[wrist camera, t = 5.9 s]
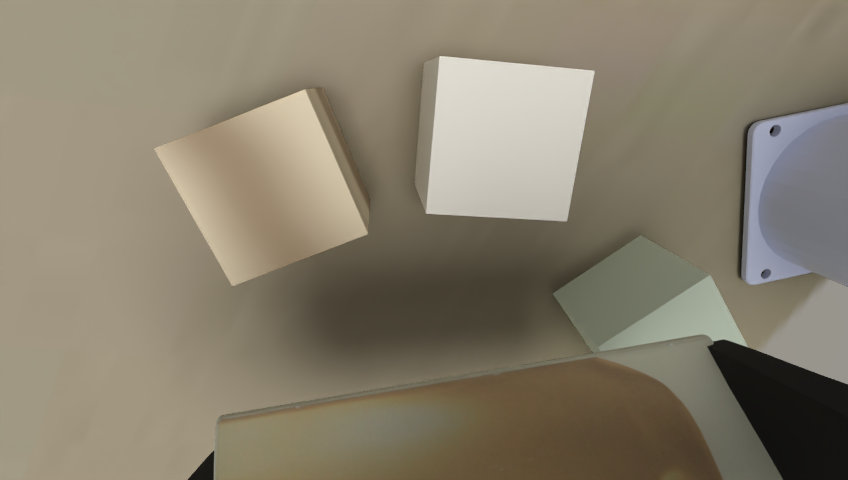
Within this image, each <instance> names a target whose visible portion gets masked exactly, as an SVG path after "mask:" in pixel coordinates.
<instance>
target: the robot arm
mask: <svg viewBox="0 0 848 480" xmlns="http://www.w3.org/2000/svg"><path fill="white" fill-rule="evenodd" d="M772 126H773V127H774V130H773V132H772V134H771V135H770V129H771V128H772ZM763 270H765V271H764V273H763V274H762V275H761V273H762V271H763ZM812 272H814V273H817V274H819V275H821V276H824V277H826V278H828V279H830V280H833V281H835V282H838V283H840V284H842V285H844V286H847V287H848V103H844V104H840V105H835V106H830V107H825V108H820V109H815V110H810V111H805V112H800V113H796V114H791V115H786V116H781V117H776V118H771V119H766V120H761V121H758V122H755V123H754V124H753V125H752V126H751V127H750V129H749V131H748V139H747V161H746V183H745V205H744V226H743V248H742V270H741V277H742V280H743V281H744V282H746V283H748V284H750V285H756V284H761V283H765V282H770V281H775V280H779V279H784V278H789V277H793V276H798V275H802V274H807V273H812ZM713 343H714V344H713V345H710V346H707V347H708V349H709V351H710V353H711V355H712V357H713V358H714V360H715V362H716V364H717V366H718V368H719V369H720V371H721V373H722V375H723V377H724V379H725V381H726V383H727V384H728V386H729V388H730V390H731V391H732V393H733V395H734V396H735V398H736V400H737V401H738V403H739V405H740V406H741V408H742V410H743V412H744V413H745V415H746V417H747V418H748V420H749V422H750V423H751V425H752V427H753V429H754V430H755V432H756V434H757V435H758V437H759V439H760V440H761V442H762V444H763V446H764V447H765V449H766V451H767V452H768V454H769V456H770V458H771V459H772V461H773V463H774V465H775V466H776V468H777V470H778V471H779V473H780V475H781V477H782V478H783V480H848V384H845V383H842V382H839V381H836V380H834V379H831V378H828V377H825V376H822V375H819V374H817V373H814V372H811V371H809V370H806V369H804V368H801V367H798V366H796V365H793V364H790V363H788V362H785V361H783V360H780V359H777V358H774V357H772V356H769V355H767V354H764V353H762V352H759V351H756V350H754V349H751V348H748V347H746V346H743V345H740V344H737V343H734V342H731V341H728V340H725V339H723V340H718V341H713ZM188 480H214V451H213V452H212V453H211V454H210V455H209V456H208V457H207V458H206V459H205V461H204V462H203V463H202V464H201V465H200V466H199V467H198V468H197V470H196V471H195V472H194V473H193V474H192V475H191V477H190V478H189V479H188Z"/></svg>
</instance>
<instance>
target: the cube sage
mask: <svg viewBox="0 0 848 480" xmlns="http://www.w3.org/2000/svg"><path fill="white" fill-rule="evenodd" d="M553 295H554V297H555V298H556V300H557V301H558V302H559V304H560V305H561V307H562V308H563V310H564V311H565V313H566V314H567V316H568V317H569V319H570V320H571V322H572V323H573V325H574V326H575V328H576V329H577V331H578V332H579V333H580V335H581V336H582V338H583V339H584V341H585V342H586V344H587V345H588V347H589V348H590V350H591V351H592V353H595V352H601V351H607V350H613V349H619V348H625V347H631V346H636V345H642V344H648V343H654V342H659V341H665V340H671V339H677V338H683V337H688V336H695V335H701V334H704V335H707V336H709V337H710V338H711V339H712V341H718V340H723V339H725V340H728V341H731V342H734V343H737V344H740V345H743V346H746V347H748V346H747V344H746V342H745V340H744V339H743V337H742V335H741V333H740V331H739V329H738V327H737V325H736V323H735V321H734V319H733V317H732V316H731V314H730V312H729V310H728V308H727V306H726V304H725V302H724V300H723V298H722V296H721V294H720V293H719V291H718V289H717V287H716V285H715V283H714V281H713V279H712V277H711V275H710V274H708V273H706V272H705V271H703V270H701V269H699V268H698V267H696V266H694V265H692V264H691V263H689V262H687V261H685V260H684V259H682V258H680V257H678V256H677V255H675V254H673V253H671V252H670V251H668V250H666V249H664V248H663V247H661V246H659V245H657V244H656V243H654V242H652V241H650V240H649V239H647V238H645V237H643V236H642V235H640V236H638V237H637V238H635V239H634V240H632V241H631V242H629V243H628V244H626V245H625V246H623V247H622V248H620V249H619V250H617V251H616V252H614V253H613V254H611V255H610V256H608V257H607V258H605V259H604V260H602V261H601V262H599V263H598V264H596V265H595V266H593V267H592V268H590V269H589V270H587V271H586V272H584V273H583V274H581V275H580V276H578V277H577V278H575V279H574V280H572V281H571V282H569V283H568V284H566V285H565V286H563V287H562V288H560V289H559V290H557V291H556V292H554V293H553Z"/></svg>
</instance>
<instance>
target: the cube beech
mask: <svg viewBox="0 0 848 480" xmlns="http://www.w3.org/2000/svg"><path fill="white" fill-rule="evenodd" d="M155 151H156V153H157V155H158V156H159V158H160V160H161V162H162V163H163V165H164V167H165V169H166V171H167V172H168V174H169V176H170V178H171V179H172V181H173V183H174V185H175V186H176V188H177V190H178V192H179V193H180V195H181V197H182V199H183V200H184V202H185V204H186V206H187V207H188V209H189V211H190V213H191V214H192V216H193V218H194V220H195V221H196V223H197V225H198V227H199V228H200V230H201V232H202V234H203V236H204V237H205V239H206V241H207V243H208V244H209V246H210V248H211V250H212V251H213V253H214V255H215V257H216V258H217V260H218V262H219V264H220V265H221V267H222V269H223V271H224V272H225V274H226V276H227V278H228V279H229V281H230V283H231V285H232V286H235V285H237V284H240V283H242V282H245V281H248V280H250V279H253V278H255V277H258V276H261V275H263V274H266V273H268V272H271V271H274V270H276V269H279V268H281V267H284V266H287V265H289V264H292V263H294V262H297V261H300V260H302V259H305V258H307V257H310V256H313V255H315V254H318V253H320V252H323V251H326V250H328V249H331V248H333V247H336V246H339V245H341V244H344V243H346V242H349V241H352V240H354V239H357V238H359V237H362V236H365V235H367V234H368V229H369V211H370V198H369V196H368V193H367V191H366V189H365V186H364V184H363V182H362V179H361V177H360V175H359V172H358V170H357V167H356V165H355V163H354V160H353V158H352V156H351V153H350V151H349V149H348V146H347V144H346V141H345V139H344V137H343V134H342V132H341V130H340V127H339V125H338V123H337V120H336V118H335V115H334V113H333V111H332V108H331V106H330V104H329V101H328V99H327V97H326V94H325V92H324V89H323V87H322V88H312V89H304V90H302V91H299V92H297V93H294V94H292V95H289V96H287V97H284V98H281V99H279V100H276V101H274V102H271V103H269V104H266V105H264V106H261V107H259V108H256V109H254V110H251V111H249V112H246V113H243V114H241V115H238V116H236V117H233V118H231V119H228V120H226V121H223V122H221V123H218V124H216V125H213V126H211V127H208V128H206V129H203V130H200V131H198V132H195V133H193V134H190V135H188V136H185V137H183V138H180V139H178V140H175V141H173V142H170V143H168V144H165V145H162V146H160V147H157V148H155Z"/></svg>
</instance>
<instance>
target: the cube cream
mask: <svg viewBox="0 0 848 480" xmlns="http://www.w3.org/2000/svg"><path fill="white" fill-rule="evenodd" d="M594 72H595V71H591V70H581V69H570V68H560V67H549V66H539V65H528V64H518V63H507V62H497V61H486V60H476V59H465V58H455V57H444V56H439V57H436V58H434V59H431V60H429V61H427V62H424V67H423V80H422V93H421V106H420V119H419V132H418V145H417V158H416V171H415V187H416V189H417V192H418V194H419V197H420V200H421V202H422V205H423V207H424V210H425V212H426V214H440V215H458V216H477V217H495V218H513V219H532V220H550V221H567V218H568V213H569V207H570V202H571V197H572V191H573V186H574V180H575V175H576V169H577V164H578V159H579V153H580V148H581V142H582V137H583V131H584V126H585V121H586V115H587V110H588V104H589V99H590V93H591V88H592V82H593V77H594Z"/></svg>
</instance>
